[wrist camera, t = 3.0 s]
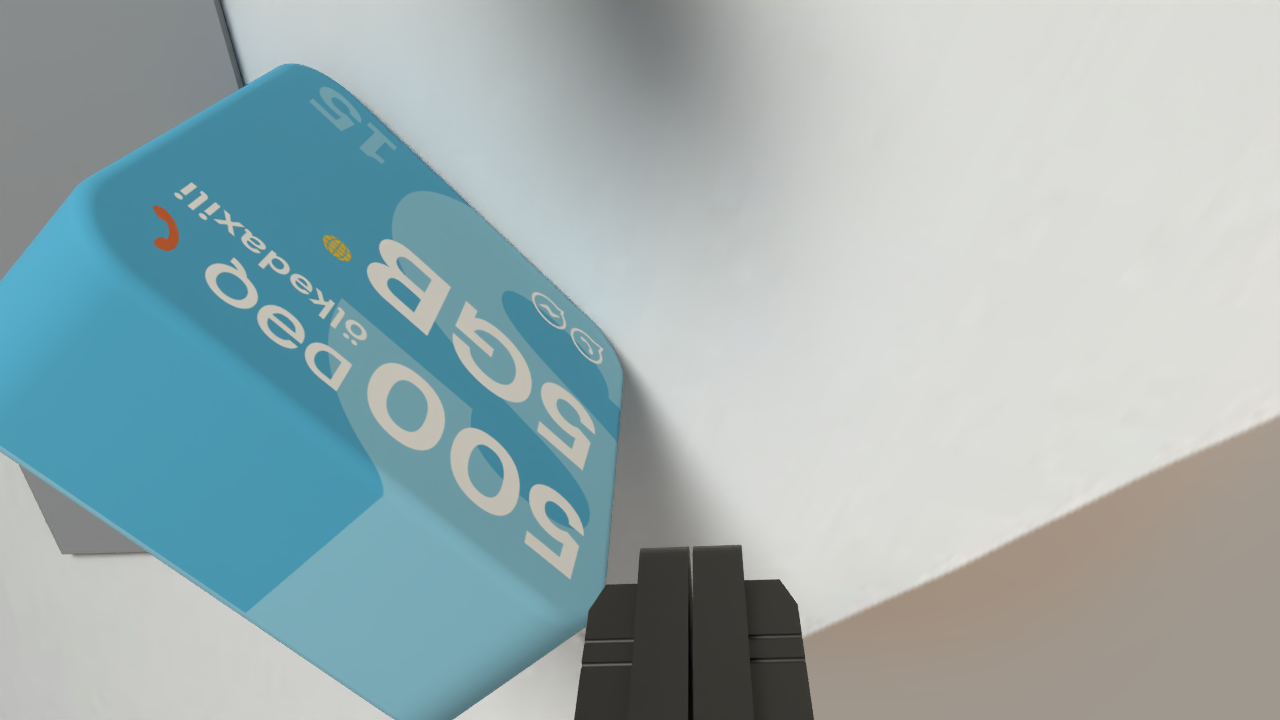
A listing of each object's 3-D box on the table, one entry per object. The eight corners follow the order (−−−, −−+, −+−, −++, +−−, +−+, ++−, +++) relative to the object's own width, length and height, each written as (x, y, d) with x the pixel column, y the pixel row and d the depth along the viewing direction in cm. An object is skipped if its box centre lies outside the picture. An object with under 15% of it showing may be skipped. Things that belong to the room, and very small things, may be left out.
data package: (629, 352, 28) (605, 655, 18) (525, 438, 30) (447, 763, 19) (306, 46, 24) (30, 204, 14) (205, 163, 26) (-111, 385, 15)
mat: (186, -116, 23) (180, -115, 23) (370, 539, 32) (367, 544, 32) (-230, -75, 24) (-240, -73, 24) (66, 548, 34) (62, 554, 33)
